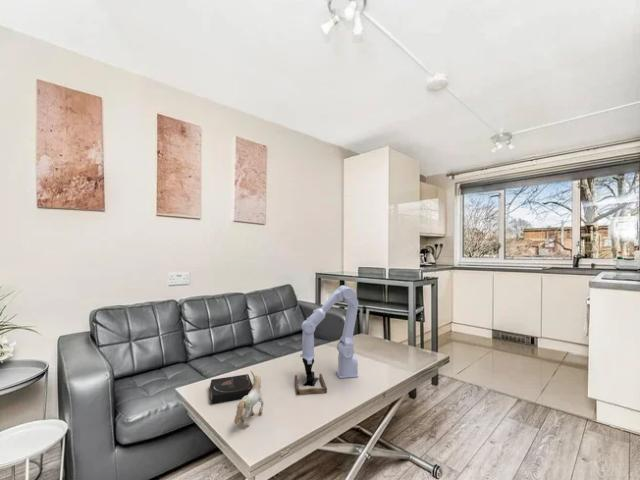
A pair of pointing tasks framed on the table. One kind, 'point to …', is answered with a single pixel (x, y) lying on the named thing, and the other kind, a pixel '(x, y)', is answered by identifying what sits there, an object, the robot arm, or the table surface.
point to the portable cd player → (230, 388)
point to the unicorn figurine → (250, 402)
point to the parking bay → (311, 390)
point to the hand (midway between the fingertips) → (308, 373)
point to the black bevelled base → (310, 379)
